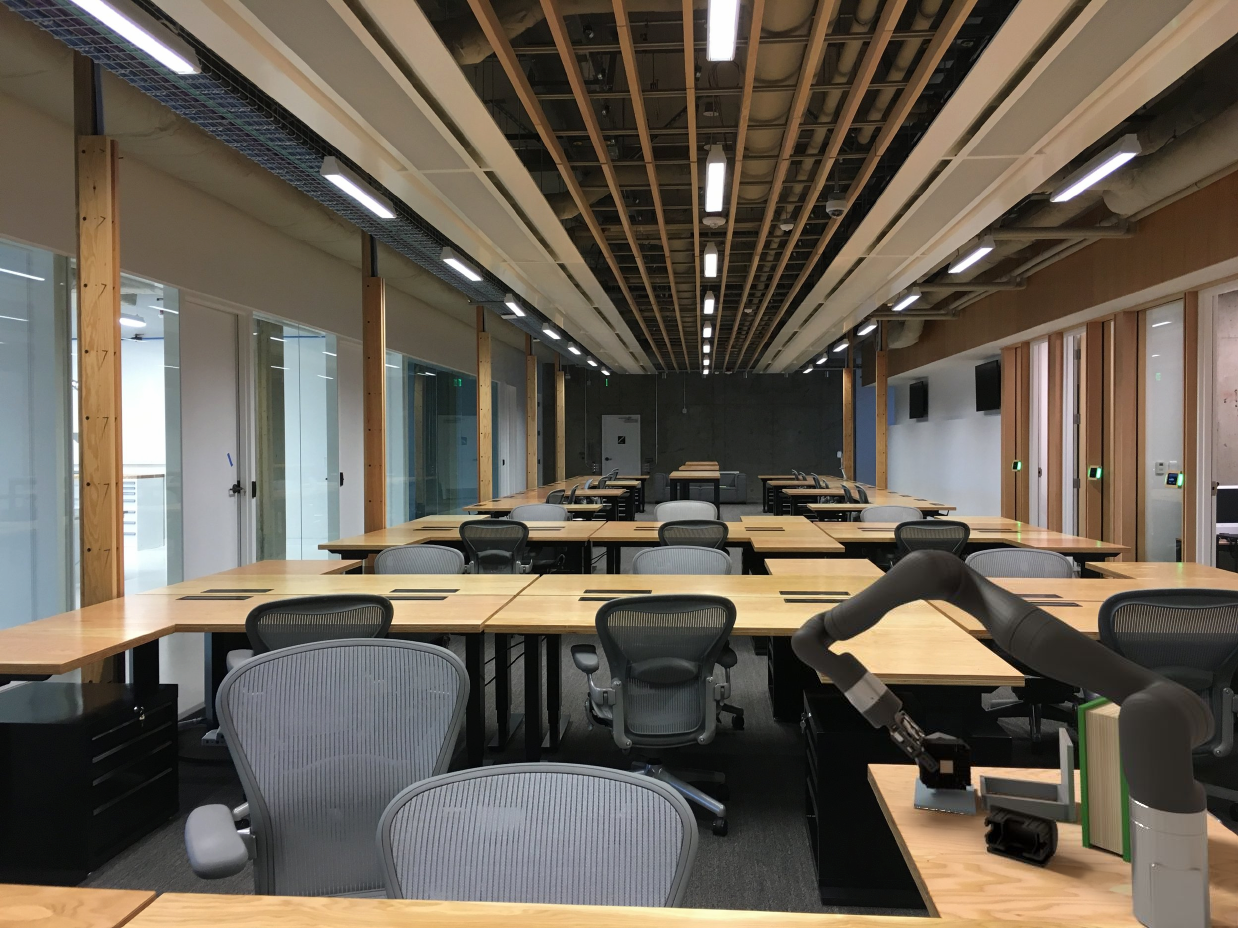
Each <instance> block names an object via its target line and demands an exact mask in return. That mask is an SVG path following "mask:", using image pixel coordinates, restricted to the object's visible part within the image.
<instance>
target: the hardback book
mask: <svg viewBox="0 0 1238 928" xmlns="http://www.w3.org/2000/svg"><path fill="white" fill-rule="evenodd" d="M1120 708H1121V707H1119V706H1118V705H1116V704H1115V703H1113V702H1111V701H1109V700H1108V699H1106V698H1104V697H1100V698H1097V699H1094V700H1091V701H1089V702H1086V703H1083V704H1081V705H1078V706H1077V722H1078V723H1077V724H1078V725H1077V727H1078V751H1079V752H1078V755H1079V758H1078V759H1079V781H1080V782H1079V784H1080V785H1079V786H1080V810H1081V812H1080V814H1081V840H1082V842H1081V843H1082V847H1084V848H1086V849H1089V848H1091V847H1093V846H1097V847H1099V848H1102V849H1105V850H1106V851H1107V850H1108V851H1111V852H1114V853H1117V854H1119V855H1122V861H1123V862H1125V863H1128V864H1131V846H1130V817H1129V814H1130V813H1129V787H1128V783H1127V781H1126V779H1125V777H1124V774H1123V771H1122V764H1121V753H1120V741H1119V712H1120Z"/></svg>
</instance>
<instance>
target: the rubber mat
mask: <svg viewBox="0 0 1238 928" xmlns="http://www.w3.org/2000/svg"><path fill="white" fill-rule="evenodd" d="M966 788H967V791H965V790H963V789H962V791H961V790H958V789H957V790H956V789H954V790H953V789H952V790H950V789H949V790H947V789H942V790H940V789H937V790H936V788H935V789H930V788H928V789H927V788H926V786H925V784H922V782H921V781H920V778H919V777H916V778H915V788H914V795H913V797H914V799H913V808H914V807H918V808H919V807H920V808H928V809H935V810H936V809H937V810H945V811H950V812H956V813H955V814H958V813H963V814H962V815H966V814H971V815H970V816H974V815H976V816H977V808H976V797H975V785H974V783H971V786H966ZM918 808H917V809H918ZM950 812H949V813H950Z"/></svg>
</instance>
